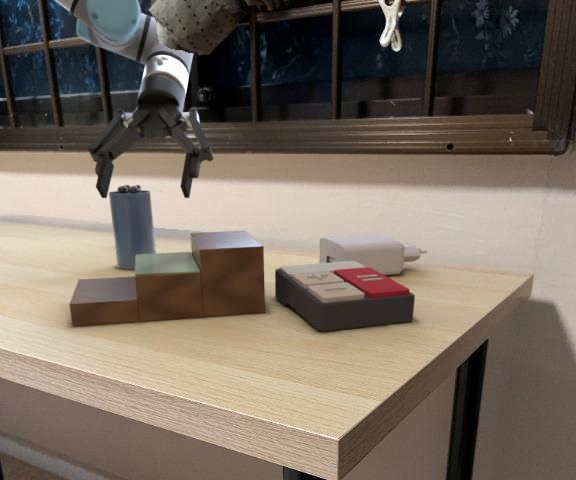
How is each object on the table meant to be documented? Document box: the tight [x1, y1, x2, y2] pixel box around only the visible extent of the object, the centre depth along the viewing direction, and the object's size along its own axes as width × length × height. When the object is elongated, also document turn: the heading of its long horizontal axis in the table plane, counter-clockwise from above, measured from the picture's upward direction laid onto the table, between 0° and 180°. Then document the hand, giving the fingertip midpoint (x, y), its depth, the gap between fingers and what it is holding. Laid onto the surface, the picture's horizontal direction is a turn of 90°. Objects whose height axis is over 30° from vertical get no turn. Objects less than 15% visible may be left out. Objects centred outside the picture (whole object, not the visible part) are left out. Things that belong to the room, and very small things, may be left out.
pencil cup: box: [108, 184, 157, 271], centre depth 92 cm, size 6×6×12 cm
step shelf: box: [68, 230, 266, 327], centre depth 71 cm, size 21×12×8 cm, turn 103°
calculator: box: [274, 261, 416, 333], centre depth 70 cm, size 11×4×15 cm
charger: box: [318, 234, 428, 276], centre depth 89 cm, size 5×9×15 cm
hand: (142, 192), depth 95 cm, fingers open, 13 cm apart
